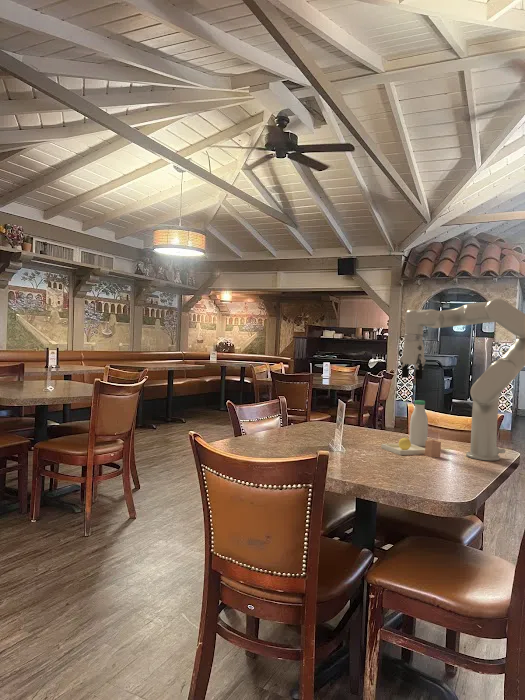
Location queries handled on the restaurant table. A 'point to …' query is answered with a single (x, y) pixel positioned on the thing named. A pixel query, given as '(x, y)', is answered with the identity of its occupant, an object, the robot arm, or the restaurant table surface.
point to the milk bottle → (418, 424)
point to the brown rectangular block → (432, 448)
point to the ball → (404, 443)
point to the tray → (396, 449)
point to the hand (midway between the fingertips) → (411, 378)
